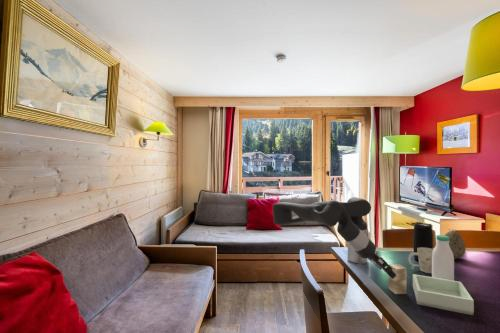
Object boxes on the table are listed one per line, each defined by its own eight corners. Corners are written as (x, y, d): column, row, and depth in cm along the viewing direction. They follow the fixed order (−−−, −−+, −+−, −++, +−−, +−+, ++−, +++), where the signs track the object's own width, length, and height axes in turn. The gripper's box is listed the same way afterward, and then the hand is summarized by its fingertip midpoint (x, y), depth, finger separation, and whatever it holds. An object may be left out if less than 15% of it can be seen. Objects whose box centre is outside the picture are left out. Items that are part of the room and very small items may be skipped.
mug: (441, 275, 120) (441, 253, 120) (411, 273, 123) (411, 251, 123) (433, 268, 128) (433, 247, 128) (404, 266, 131) (404, 246, 131)
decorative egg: (470, 262, 136) (470, 233, 136) (447, 261, 138) (447, 232, 138) (457, 255, 146) (457, 228, 146) (436, 254, 148) (436, 228, 148)
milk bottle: (455, 288, 108) (455, 239, 108) (432, 283, 112) (432, 236, 112) (452, 281, 114) (453, 235, 114) (431, 277, 118) (431, 232, 118)
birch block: (395, 294, 103) (395, 268, 102) (388, 288, 107) (388, 264, 107) (406, 293, 103) (406, 268, 103) (399, 288, 107) (399, 264, 107)
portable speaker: (420, 263, 134) (420, 225, 134) (409, 257, 144) (409, 221, 144) (437, 263, 134) (437, 225, 134) (425, 257, 144) (425, 221, 143)
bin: (417, 304, 95) (417, 290, 95) (412, 286, 109) (412, 274, 109) (473, 315, 88) (473, 300, 88) (460, 294, 102) (460, 281, 102)
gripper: (346, 244, 110) (371, 271, 111) (362, 256, 96) (391, 287, 96) (358, 231, 110) (384, 259, 111) (376, 241, 96) (406, 273, 97)
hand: (387, 272), depth 104 cm, fingers open, 8 cm apart
